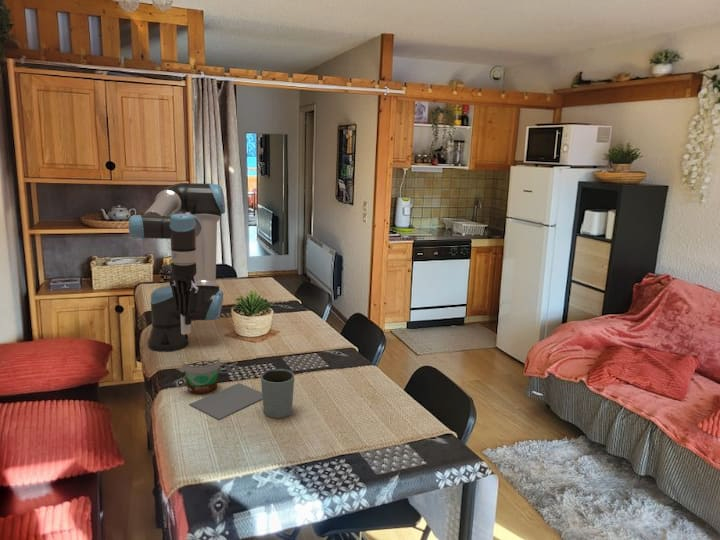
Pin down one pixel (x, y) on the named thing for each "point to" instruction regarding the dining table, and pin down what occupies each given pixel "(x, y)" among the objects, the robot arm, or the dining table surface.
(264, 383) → the grey green cup
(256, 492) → the dining table surface
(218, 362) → the food container
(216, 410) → the mat
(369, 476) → the dining table surface
